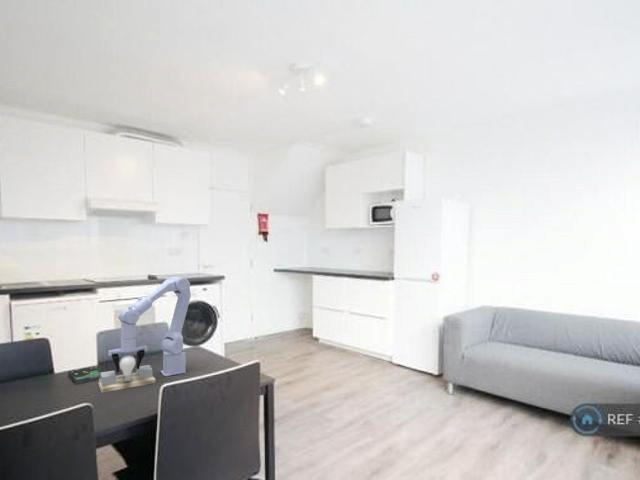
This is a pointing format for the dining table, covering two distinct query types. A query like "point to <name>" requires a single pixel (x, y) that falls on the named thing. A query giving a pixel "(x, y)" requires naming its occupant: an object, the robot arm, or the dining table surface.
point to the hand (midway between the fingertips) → (127, 370)
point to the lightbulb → (127, 366)
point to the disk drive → (84, 375)
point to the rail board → (114, 382)
